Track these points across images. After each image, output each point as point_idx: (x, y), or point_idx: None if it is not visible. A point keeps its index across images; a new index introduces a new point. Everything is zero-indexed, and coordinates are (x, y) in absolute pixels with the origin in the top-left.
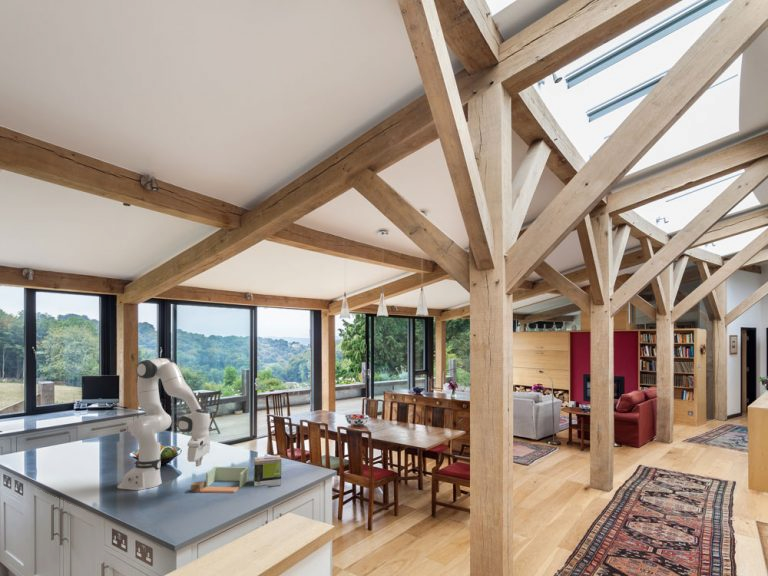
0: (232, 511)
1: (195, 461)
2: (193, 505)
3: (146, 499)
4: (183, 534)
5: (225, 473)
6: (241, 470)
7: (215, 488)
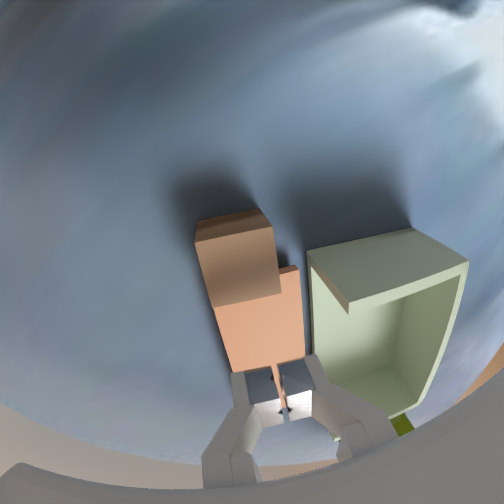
0: (121, 439)
1: (216, 437)
2: (82, 332)
3: (74, 31)
4: None
5: (426, 309)
6: (417, 380)
7: (268, 341)
